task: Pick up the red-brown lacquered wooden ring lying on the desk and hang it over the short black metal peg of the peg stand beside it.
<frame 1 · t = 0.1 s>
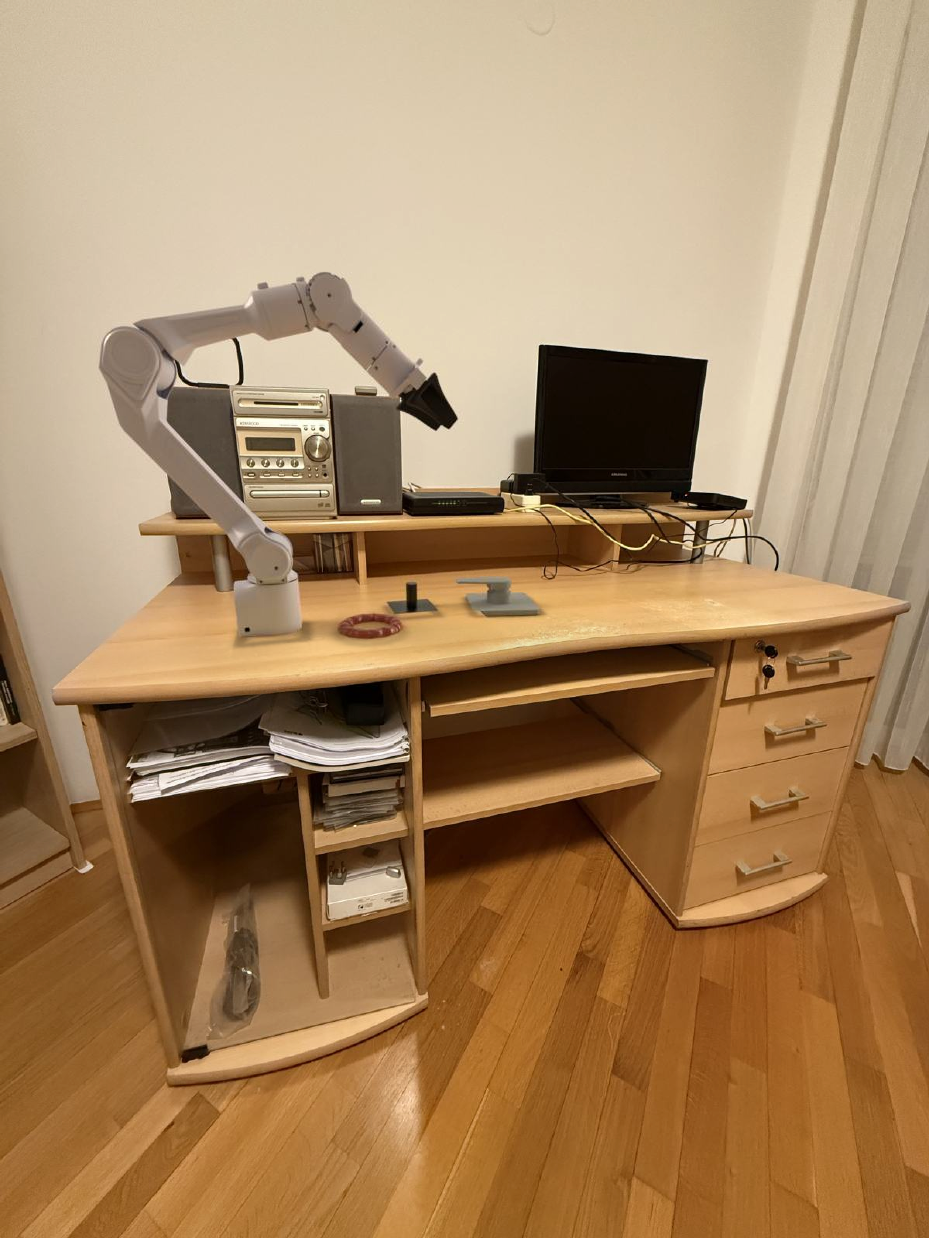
hand: (446, 425, 77), 32 cm above the table, tool tilted 50°, fingers open, 7 cm apart
ring: (370, 627, 78), point 1 cm above the table
peg stand: (411, 611, 91), on the table
shower valve: (494, 606, 95), on the table
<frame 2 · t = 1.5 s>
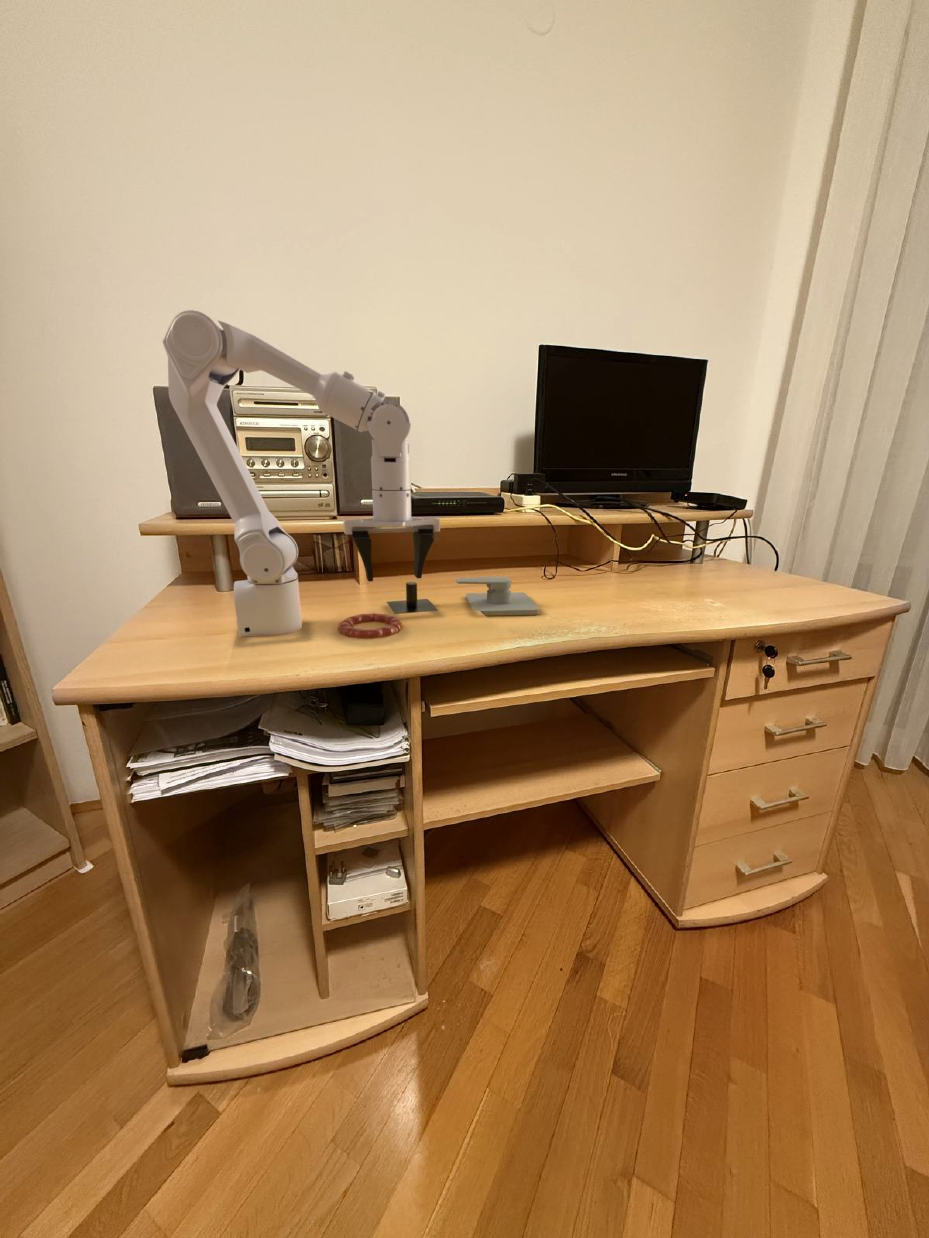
hand: (394, 578, 77), 9 cm above the table, tool pointing down, fingers open, 7 cm apart
nothing on the table moved.
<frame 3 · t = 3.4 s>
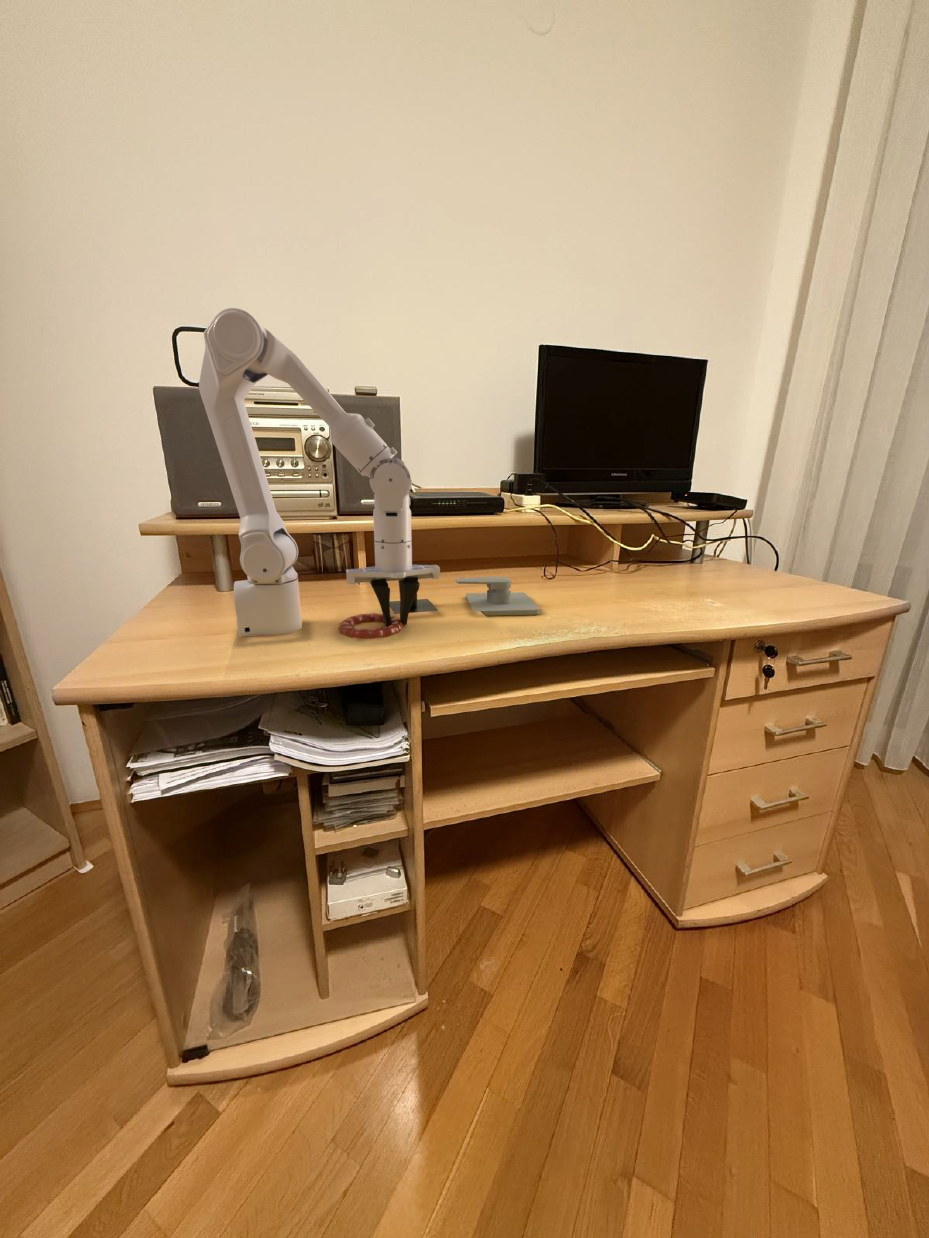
hand: (395, 623, 80), 1 cm above the table, tool pointing down, fingers closed on ring, 2 cm apart
ring: (371, 627, 78), point 1 cm above the table, touching gripper
everything else where it was.
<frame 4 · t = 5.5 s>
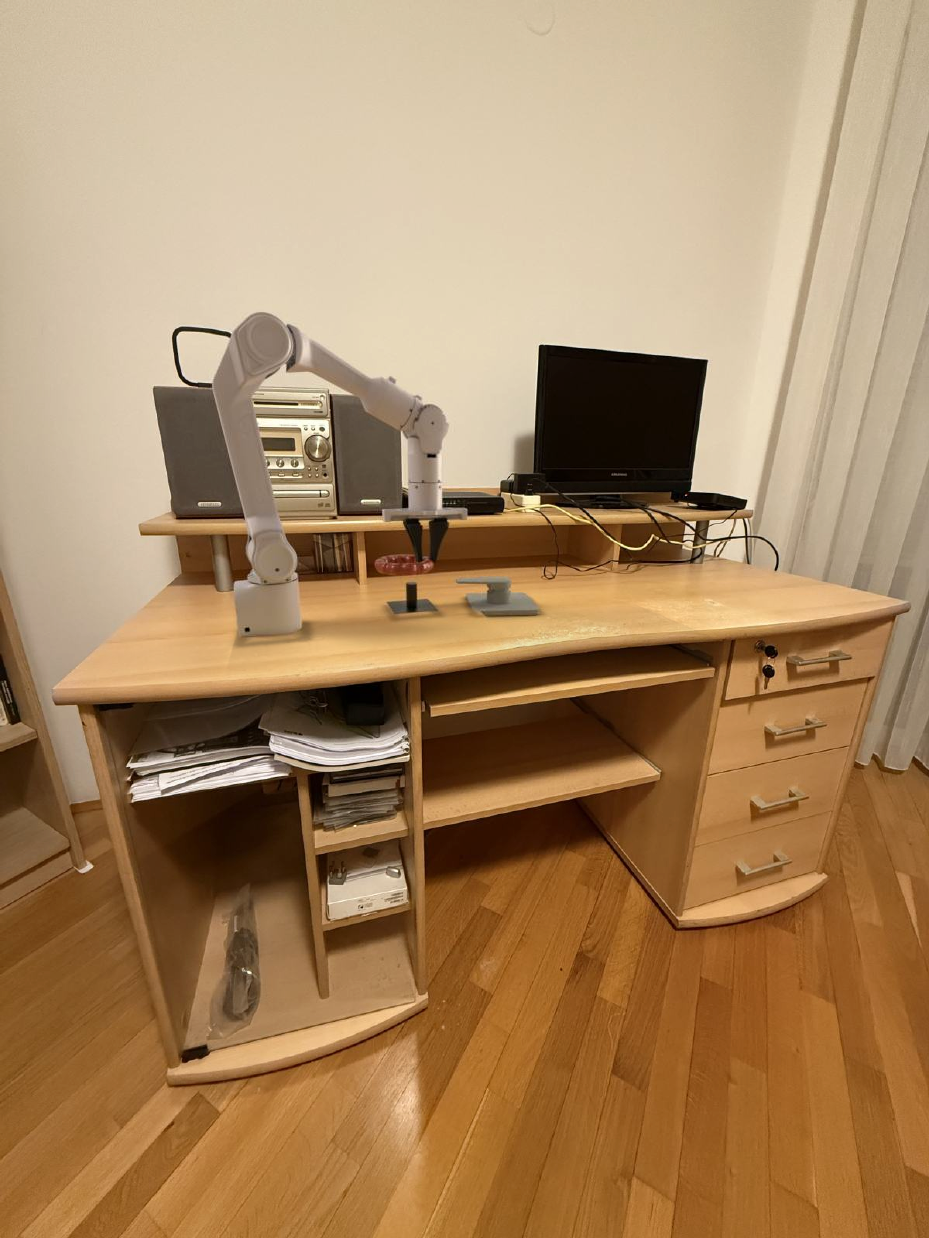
hand: (426, 562, 86), 9 cm above the table, tool pointing down, fingers closed on ring
ring: (404, 564, 85), point 9 cm above the table, touching gripper
everything else where it was.
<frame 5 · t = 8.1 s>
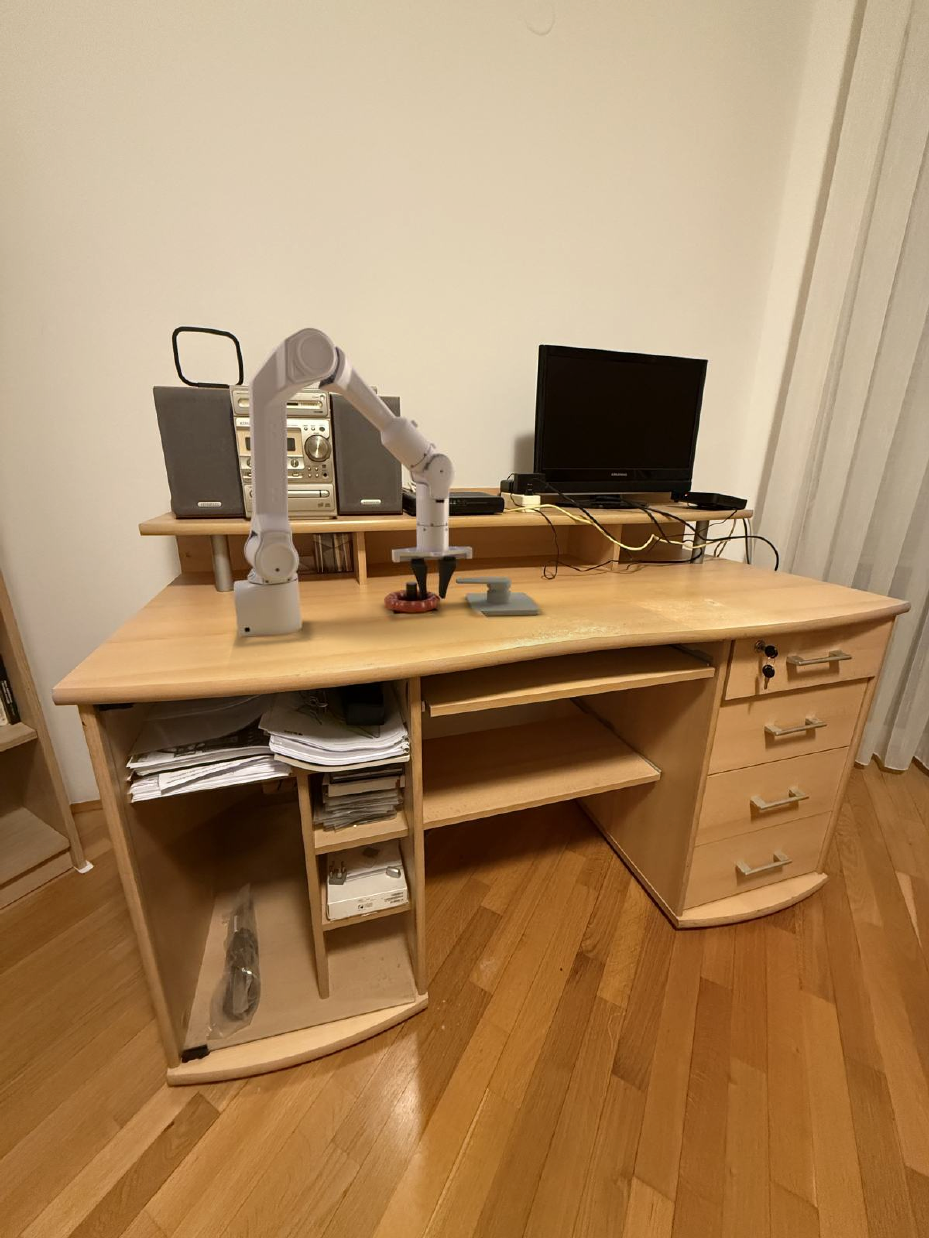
hand: (432, 598, 91), 2 cm above the table, tool pointing down, fingers open, 3 cm apart
ring: (412, 600, 90), point 2 cm above the table, touching peg stand
everything else where it was.
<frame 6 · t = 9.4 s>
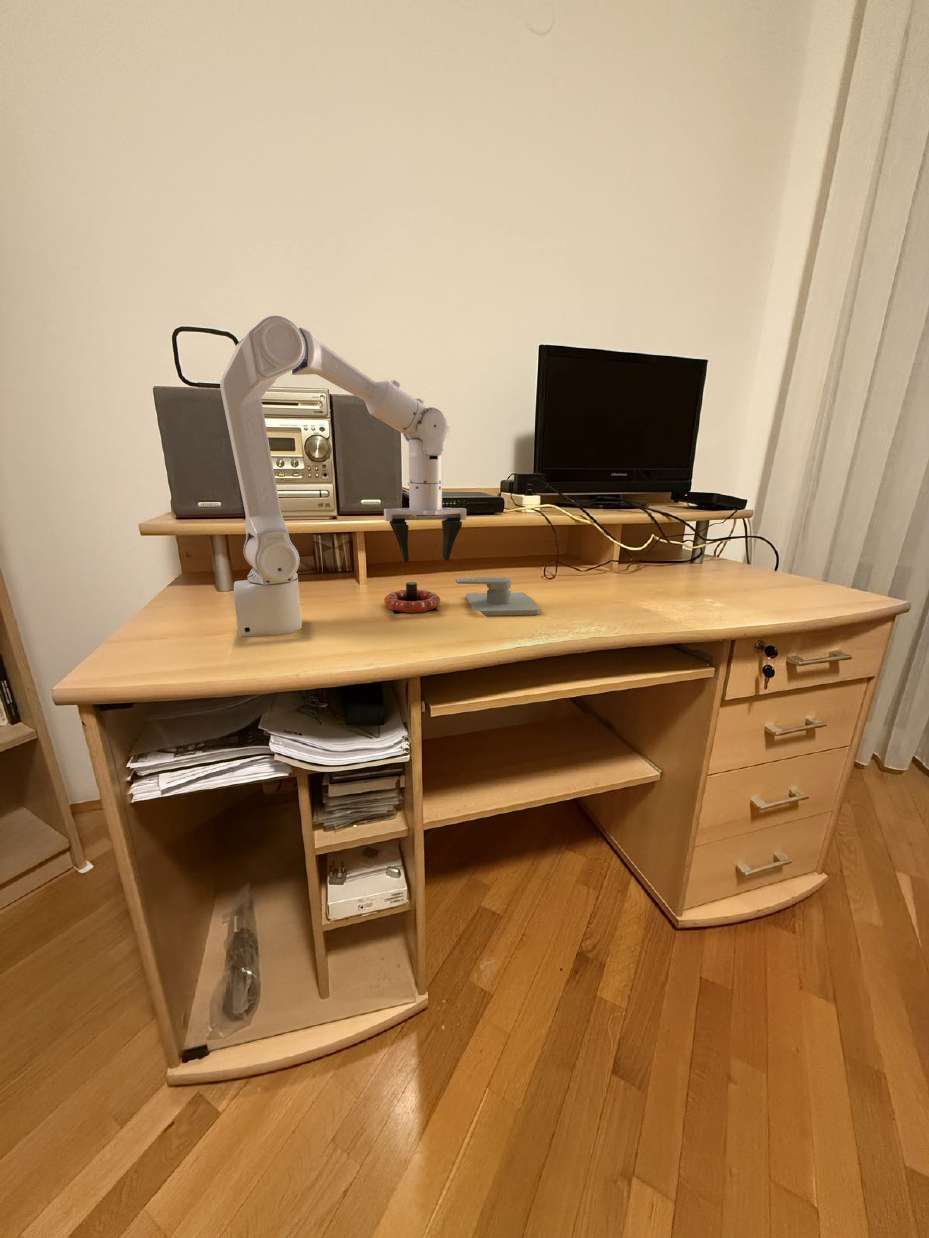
hand: (426, 560, 89), 9 cm above the table, tool pointing down, fingers open, 7 cm apart
nothing on the table moved.
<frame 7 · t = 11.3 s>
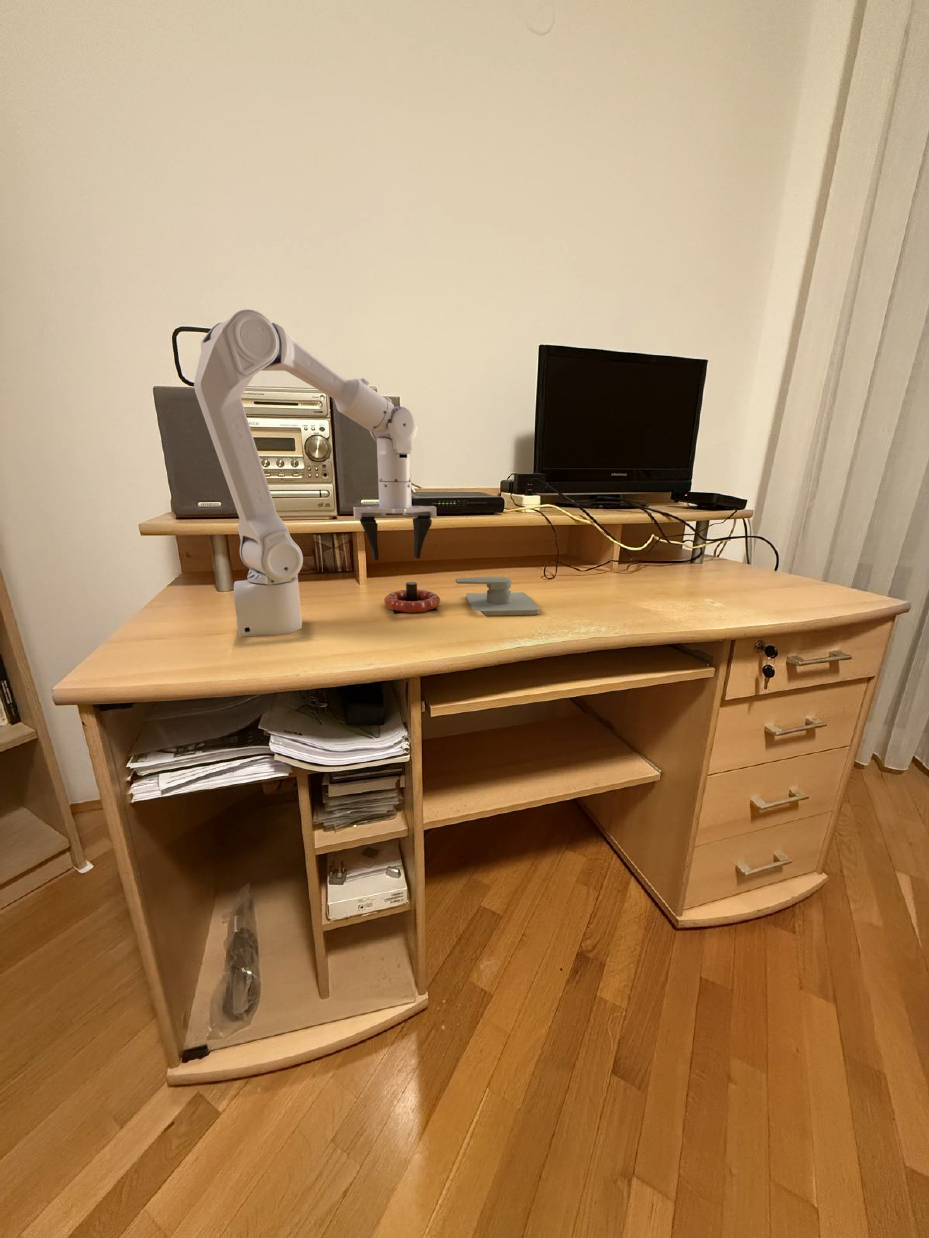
hand: (396, 558, 90), 9 cm above the table, tool pointing down, fingers open, 7 cm apart
nothing on the table moved.
at the end: ring 0.1 cm from the peg stand (horizontally); ring point 2.0 cm above the table; the gripper is holding nothing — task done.
